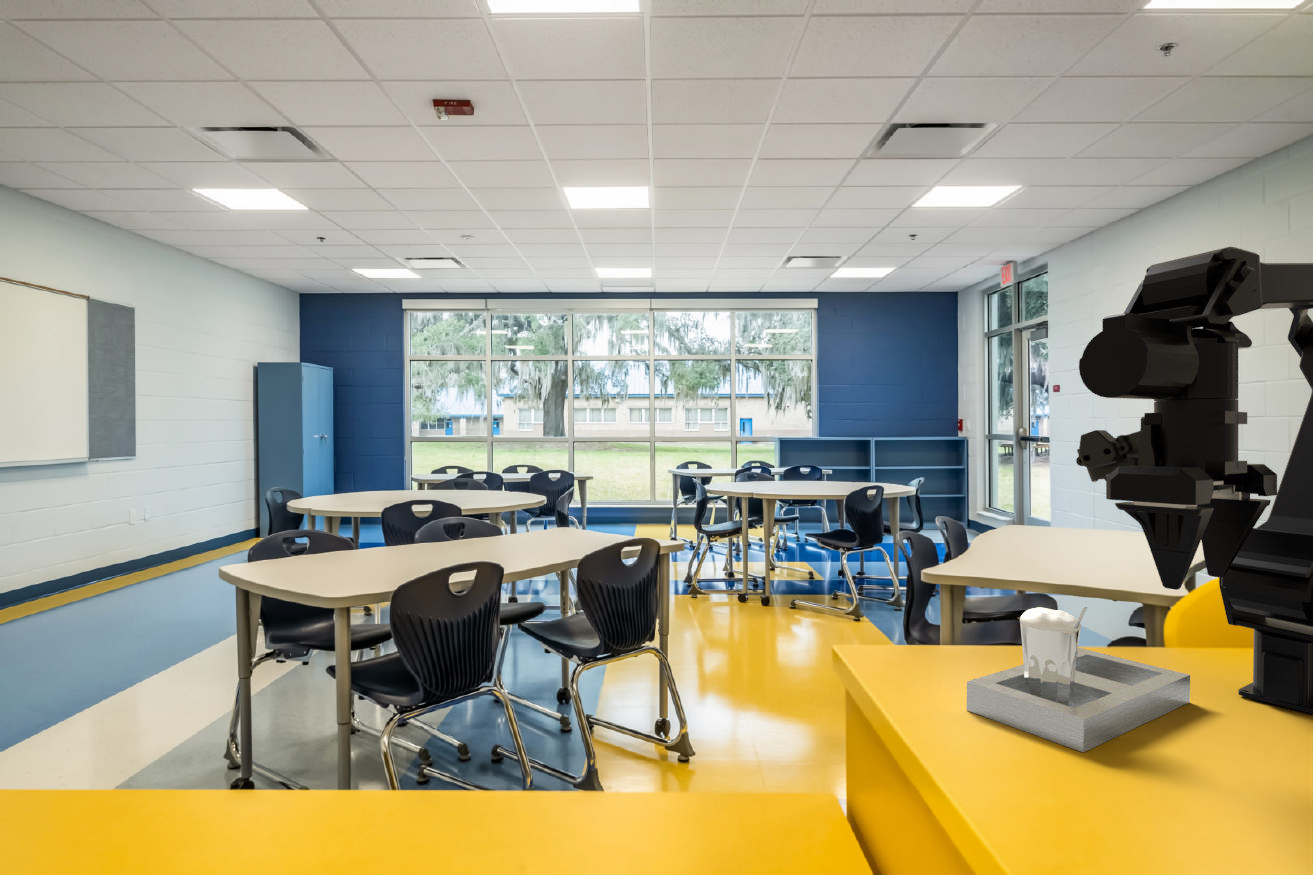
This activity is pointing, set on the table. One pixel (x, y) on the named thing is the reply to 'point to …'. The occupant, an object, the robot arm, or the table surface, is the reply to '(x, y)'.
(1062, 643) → the milkshake
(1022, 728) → the block
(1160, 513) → the robot arm
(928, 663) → the table surface
